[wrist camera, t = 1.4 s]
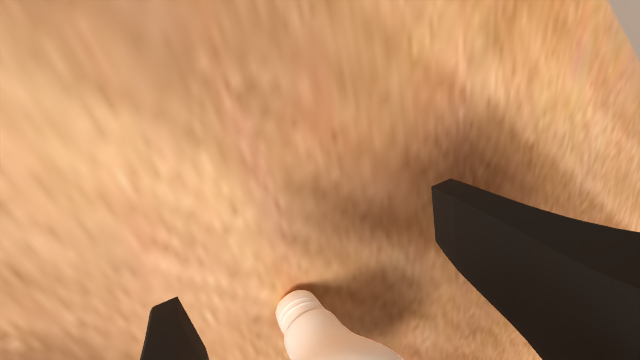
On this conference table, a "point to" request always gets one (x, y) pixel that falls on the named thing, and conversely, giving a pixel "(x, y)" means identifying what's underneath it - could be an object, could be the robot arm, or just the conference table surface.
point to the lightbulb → (322, 333)
